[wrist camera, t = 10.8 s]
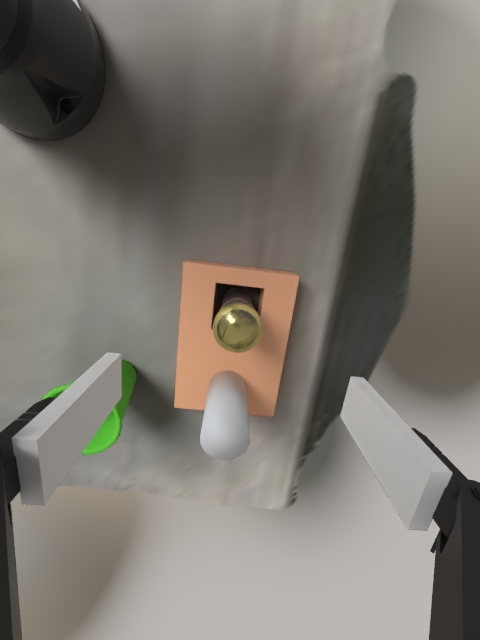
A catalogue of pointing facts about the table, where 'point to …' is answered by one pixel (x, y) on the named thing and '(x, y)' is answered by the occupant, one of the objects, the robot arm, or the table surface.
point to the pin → (237, 322)
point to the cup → (114, 421)
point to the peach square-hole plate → (230, 354)
